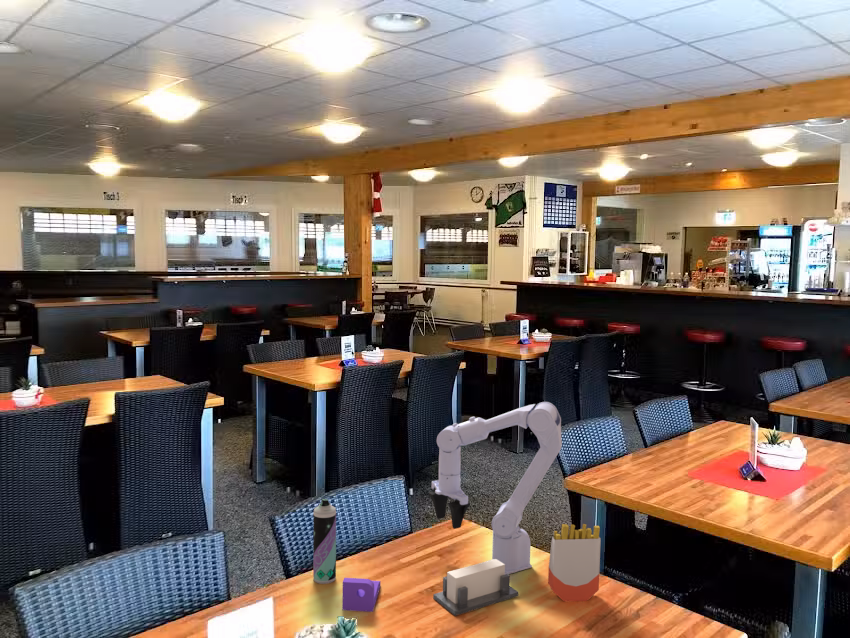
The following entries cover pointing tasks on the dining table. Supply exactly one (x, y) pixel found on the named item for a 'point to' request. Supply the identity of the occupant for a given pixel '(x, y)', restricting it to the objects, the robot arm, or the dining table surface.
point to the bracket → (359, 594)
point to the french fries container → (575, 563)
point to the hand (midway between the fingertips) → (448, 522)
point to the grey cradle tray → (478, 602)
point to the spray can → (324, 543)
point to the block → (475, 579)
